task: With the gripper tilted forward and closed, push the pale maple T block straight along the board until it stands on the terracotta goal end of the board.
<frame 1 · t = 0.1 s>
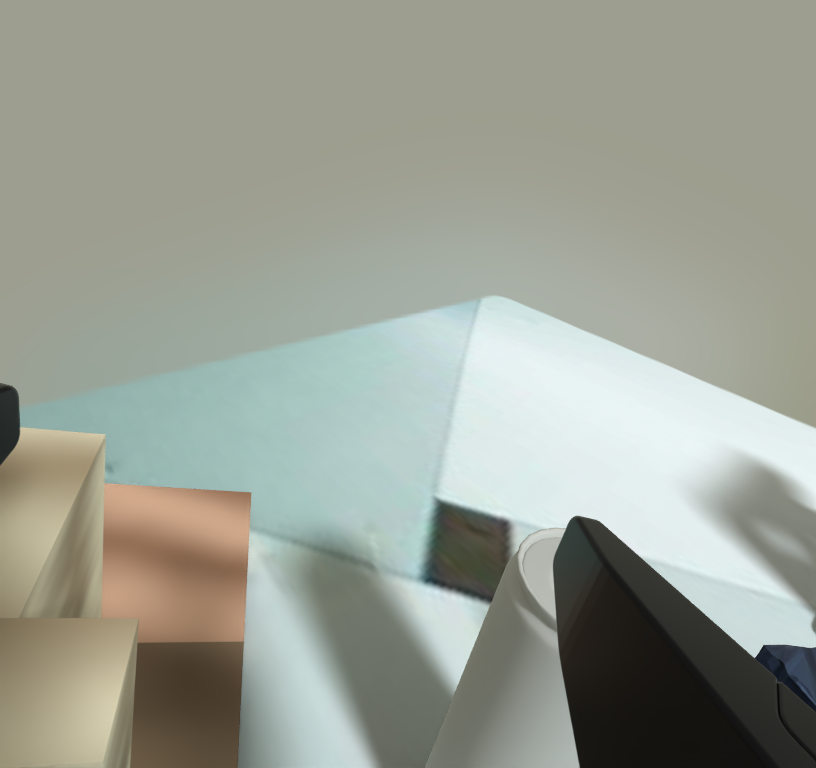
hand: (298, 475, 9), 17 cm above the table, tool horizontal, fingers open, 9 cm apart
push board: (31, 727, 20), on the table
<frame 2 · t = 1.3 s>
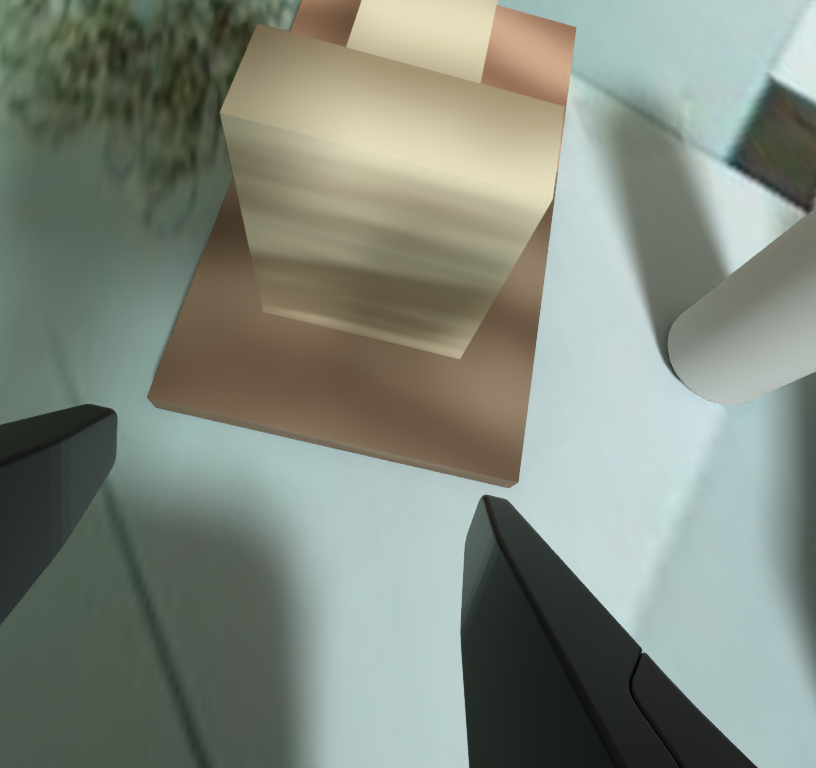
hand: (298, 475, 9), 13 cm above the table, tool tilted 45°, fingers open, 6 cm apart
T block: (388, 233, 24), point 1 cm above the table, touching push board
beverage can: (707, 360, 26), on the table
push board: (399, 194, 27), on the table
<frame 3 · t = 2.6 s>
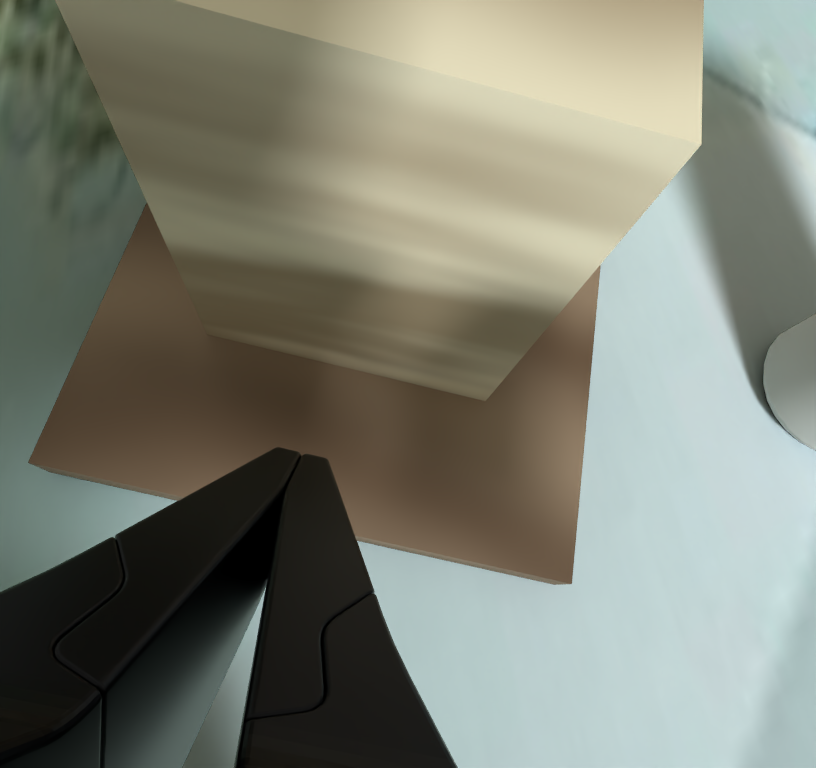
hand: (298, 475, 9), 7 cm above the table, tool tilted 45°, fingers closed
T block: (385, 224, 18), point 1 cm above the table, touching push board
beverage can: (813, 397, 19), on the table
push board: (401, 173, 20), on the table
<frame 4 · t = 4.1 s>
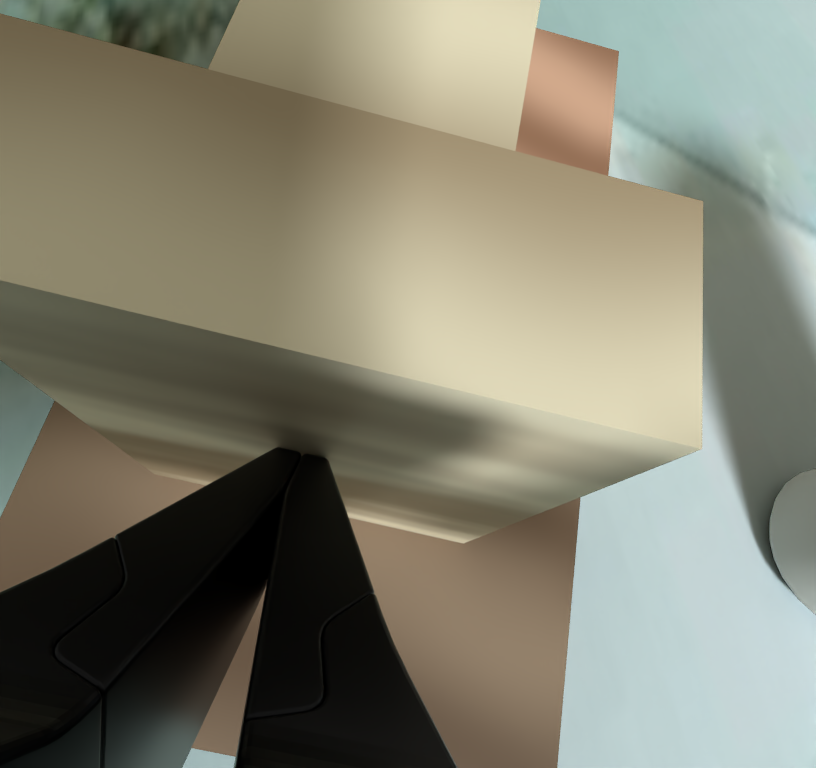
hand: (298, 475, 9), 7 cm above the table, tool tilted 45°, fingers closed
T block: (356, 336, 16), point 1 cm above the table, touching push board
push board: (368, 297, 18), on the table
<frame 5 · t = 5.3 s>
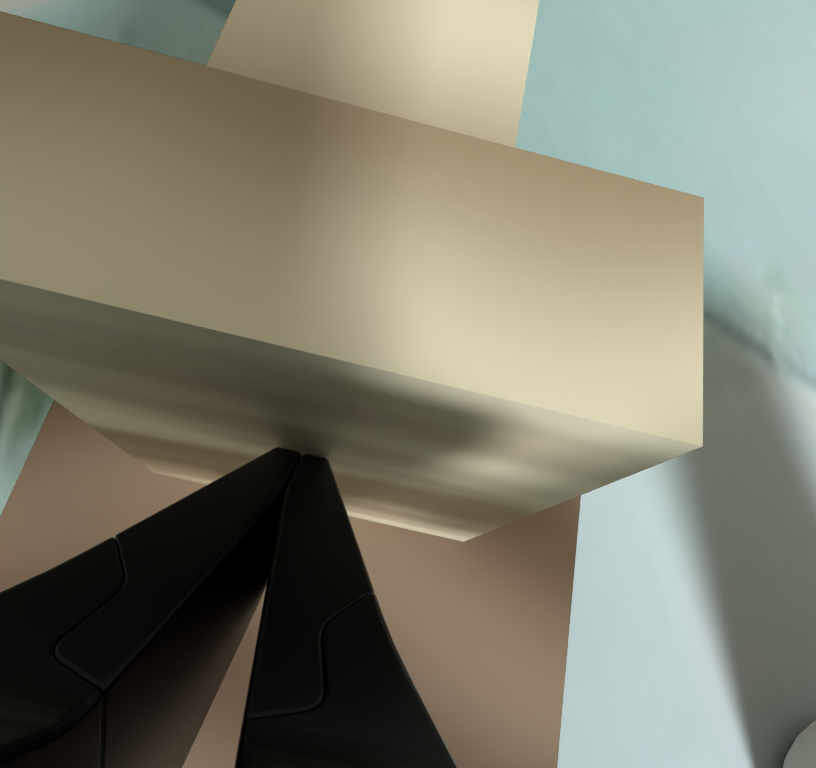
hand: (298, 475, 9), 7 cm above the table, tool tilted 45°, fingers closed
T block: (355, 335, 16), point 1 cm above the table, touching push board
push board: (314, 506, 16), on the table
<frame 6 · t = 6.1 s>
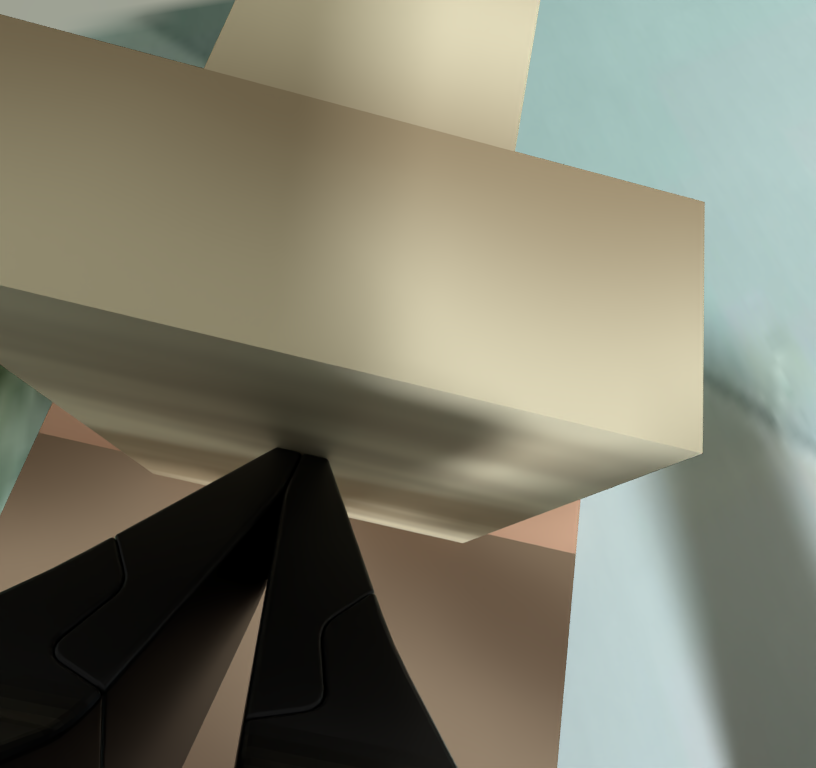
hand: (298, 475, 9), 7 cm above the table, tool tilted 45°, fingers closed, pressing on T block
T block: (355, 335, 16), point 1 cm above the table, touching gripper, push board
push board: (290, 597, 15), on the table
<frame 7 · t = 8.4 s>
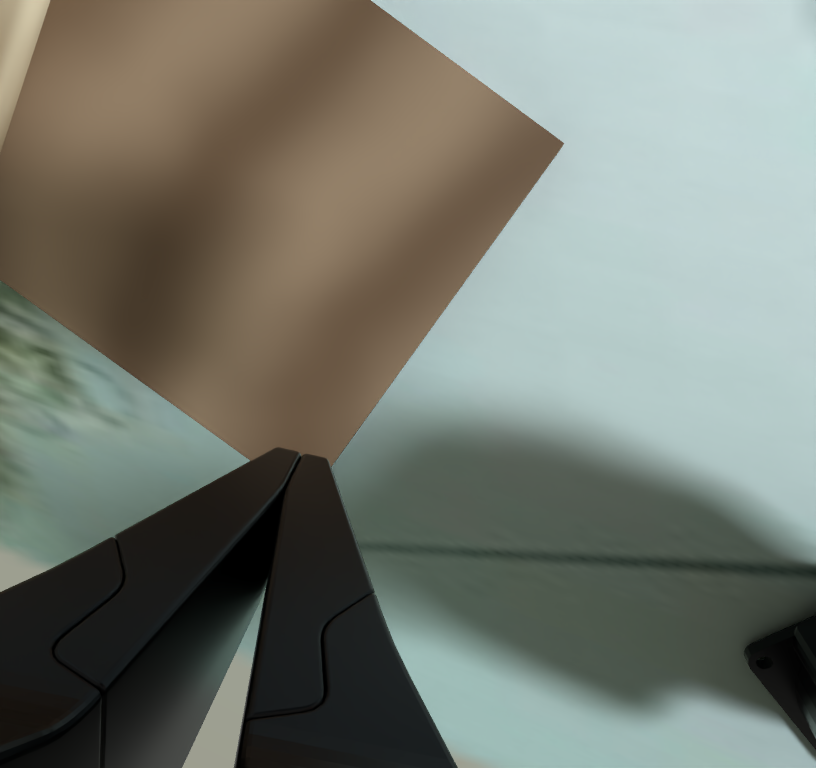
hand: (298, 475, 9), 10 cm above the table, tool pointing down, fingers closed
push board: (113, 113, 19), on the table
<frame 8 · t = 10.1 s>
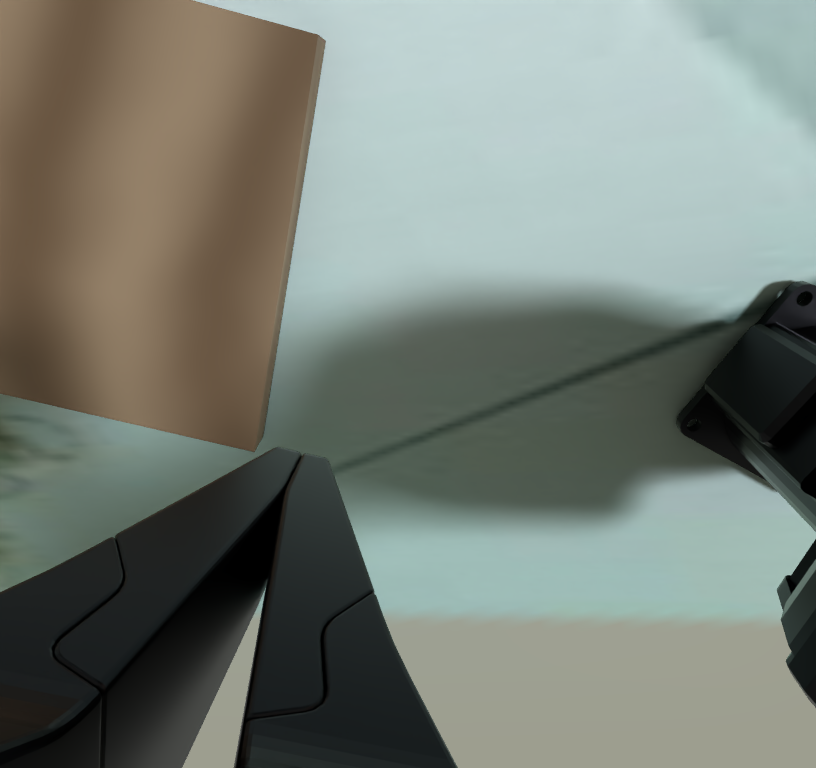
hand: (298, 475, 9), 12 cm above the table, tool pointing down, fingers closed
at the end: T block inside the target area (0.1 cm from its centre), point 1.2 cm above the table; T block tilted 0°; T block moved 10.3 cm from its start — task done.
